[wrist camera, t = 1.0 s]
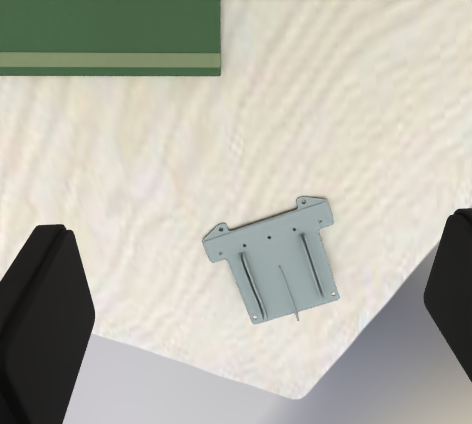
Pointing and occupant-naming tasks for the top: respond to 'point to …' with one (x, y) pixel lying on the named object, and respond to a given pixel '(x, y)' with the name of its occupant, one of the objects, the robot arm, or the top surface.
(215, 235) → the metal bracket
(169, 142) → the top surface
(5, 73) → the green rectangular slab
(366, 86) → the top surface
